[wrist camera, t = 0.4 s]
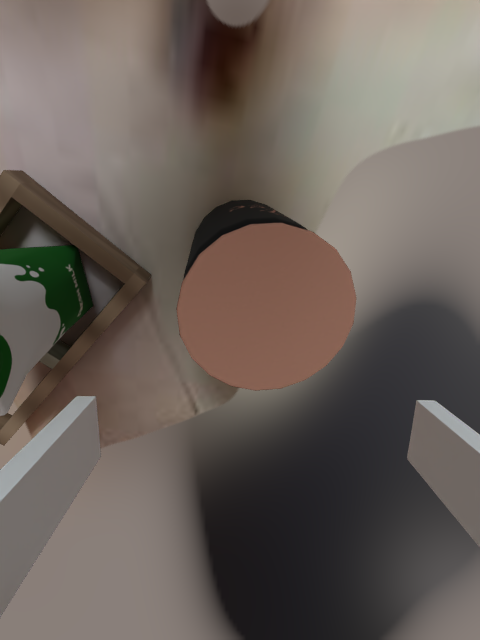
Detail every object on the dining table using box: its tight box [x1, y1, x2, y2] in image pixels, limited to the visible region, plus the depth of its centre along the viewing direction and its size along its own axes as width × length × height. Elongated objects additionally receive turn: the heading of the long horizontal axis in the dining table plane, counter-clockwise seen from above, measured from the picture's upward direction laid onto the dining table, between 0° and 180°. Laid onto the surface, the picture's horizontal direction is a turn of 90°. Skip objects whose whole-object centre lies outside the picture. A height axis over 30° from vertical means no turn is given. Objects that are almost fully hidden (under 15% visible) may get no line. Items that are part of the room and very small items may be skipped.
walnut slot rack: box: [0, 170, 151, 445], centre depth 35 cm, size 28×15×3 cm, turn 136°
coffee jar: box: [177, 200, 356, 390], centre depth 27 cm, size 11×11×18 cm
